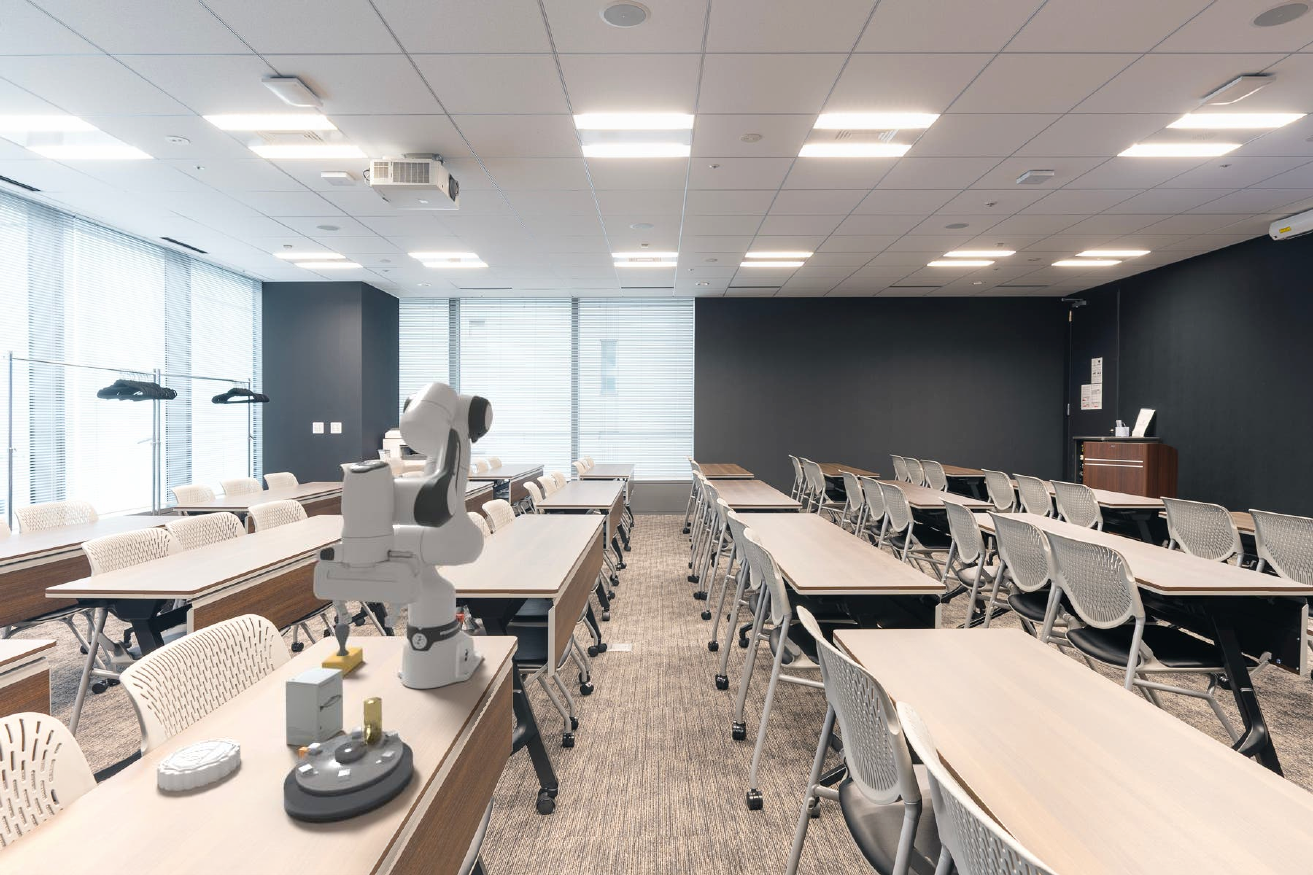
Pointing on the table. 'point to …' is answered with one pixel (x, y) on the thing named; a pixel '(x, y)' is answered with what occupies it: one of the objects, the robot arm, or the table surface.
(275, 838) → the table surface
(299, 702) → the supplement box
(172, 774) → the mooncake
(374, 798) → the grey round platform
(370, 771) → the studded round base
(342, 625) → the rubber stamp
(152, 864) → the table surface
